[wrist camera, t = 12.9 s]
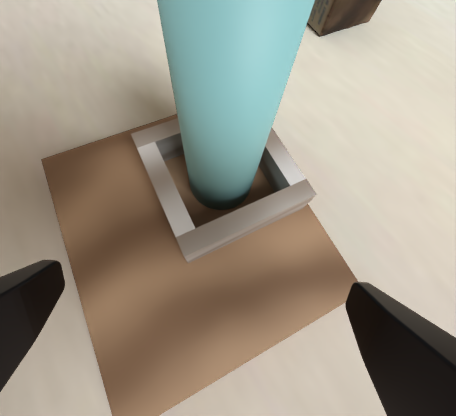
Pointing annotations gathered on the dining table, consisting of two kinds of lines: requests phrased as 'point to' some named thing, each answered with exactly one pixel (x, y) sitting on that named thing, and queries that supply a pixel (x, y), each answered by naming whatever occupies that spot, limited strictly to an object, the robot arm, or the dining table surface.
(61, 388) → the dining table surface
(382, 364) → the robot arm
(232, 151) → the post
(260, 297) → the base board
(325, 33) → the beverage carton
